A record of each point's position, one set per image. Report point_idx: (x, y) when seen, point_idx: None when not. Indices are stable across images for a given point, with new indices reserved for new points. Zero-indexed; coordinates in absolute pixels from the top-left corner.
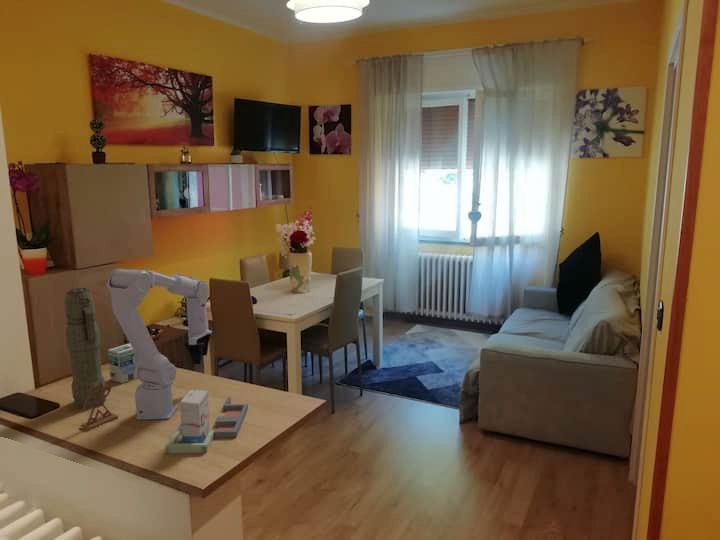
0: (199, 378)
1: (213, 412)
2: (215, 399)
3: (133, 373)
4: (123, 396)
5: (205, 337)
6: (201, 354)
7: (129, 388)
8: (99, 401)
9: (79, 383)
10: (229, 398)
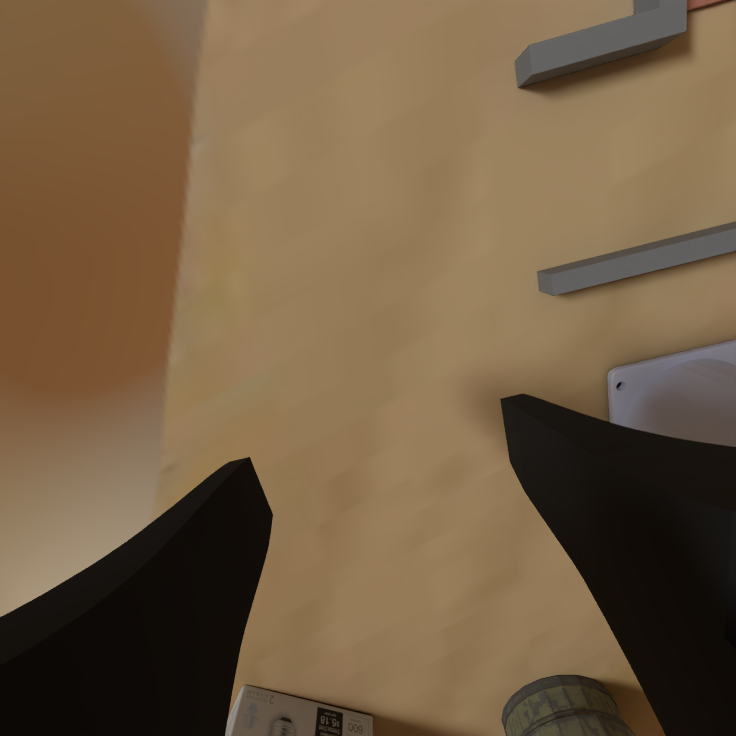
0: (213, 452)
1: (681, 112)
2: (486, 201)
3: (314, 734)
4: (494, 646)
5: (112, 698)
6: (567, 429)
7: (411, 668)
8: (586, 691)
9: None
10: (555, 44)
